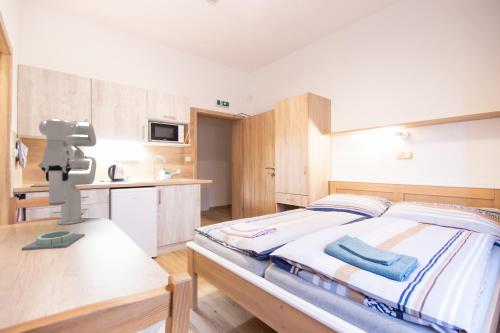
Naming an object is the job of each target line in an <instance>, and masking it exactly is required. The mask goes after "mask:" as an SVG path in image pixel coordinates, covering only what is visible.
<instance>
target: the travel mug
mask: <svg viewBox="0 0 500 333" xmlns="http://www.w3.org/2000/svg"><path fill="white" fill-rule="evenodd" d="M63 173H64V172H63V170H62V167H60V165H59V166H49V181H48V202H49V203H48V204H49V205H50V206H59V205H60V206H61V204H65V181H63Z"/></svg>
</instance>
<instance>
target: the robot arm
mask: <svg viewBox="0 0 500 333" xmlns="http://www.w3.org/2000/svg"><path fill="white" fill-rule="evenodd" d="M38 130H39V132H40V133H41V135H43V136H46V147H44V150H43V157H42V161H41V162H40V163H39V164H37V167H39V169H41V171H42V172H44V174H45V180H46V182H49V166H59V165H60V167H62V170H63V172H64V173H63V181H65V204H61V205H60V217H61V218H60V220H58V221H57V225H60V226H61V225H63V226H65V225H74V224H79V223H83V222H84V221H85V218H84V217H82V216H83V215H84V213H83V212H82V192H81V190H80V189H79V188H78V187H77V186H82V185H83V186H84V185H85V186H87V185H92V184H93V183H94V181H95V176H96V171H97V160H96V158H94V157H92V156H85V153H84V151H83V150H82V149H81V148H79V147H94V146H96V145H97V137H96V133H95V128H94V126H93V124H92V123H90V122H88V121H79V120H78V121H76V120H62V119H56V118H48V119H46V120H45V119H44V120H41V121H40V122H39V125H38Z"/></svg>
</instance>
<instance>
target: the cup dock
mask: <svg viewBox="0 0 500 333" xmlns="http://www.w3.org/2000/svg"><path fill="white" fill-rule="evenodd" d="M85 236H86V234H85V233H75V231H74V230H70V229H65V230H55V231H50V232H45V233H42V234H40V235H38V236H36V239H35V241H33V242H31V243H29V244H27V245H25V246H23V247H21V250H22V251H30V250H31V251H32V250H47V249H49V250H50V249H62V248H68V247H70V246H71V245H73V244H74V243H76V242H77V241H79V240H80V239H82V238H84V237H85Z"/></svg>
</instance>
